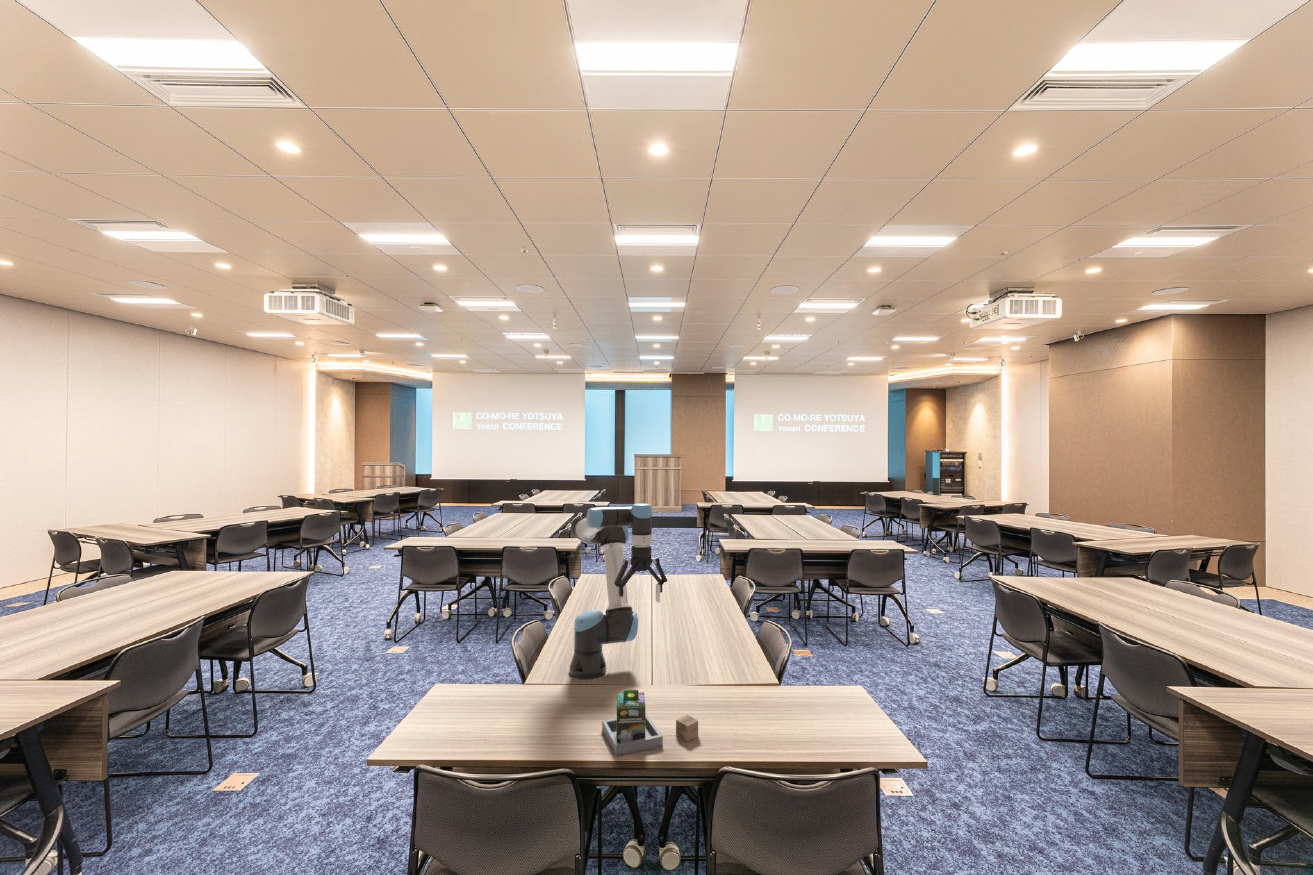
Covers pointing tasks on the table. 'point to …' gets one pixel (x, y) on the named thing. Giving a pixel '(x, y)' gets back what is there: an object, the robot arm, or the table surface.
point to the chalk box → (630, 716)
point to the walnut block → (687, 728)
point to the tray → (650, 741)
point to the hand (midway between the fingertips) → (640, 603)
